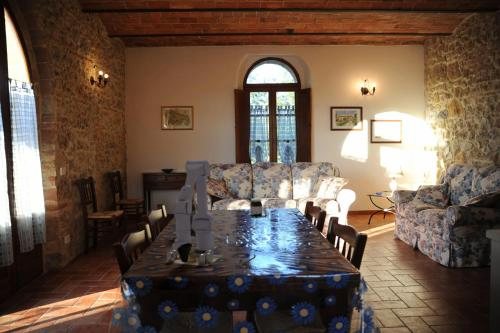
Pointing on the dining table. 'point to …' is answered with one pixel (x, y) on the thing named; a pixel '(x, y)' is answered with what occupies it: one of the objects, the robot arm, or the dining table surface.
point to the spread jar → (257, 207)
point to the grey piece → (202, 258)
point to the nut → (192, 257)
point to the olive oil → (192, 220)
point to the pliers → (246, 262)
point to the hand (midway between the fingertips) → (184, 261)
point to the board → (196, 260)
